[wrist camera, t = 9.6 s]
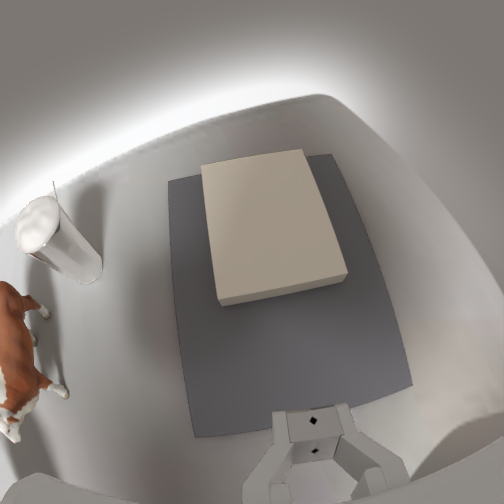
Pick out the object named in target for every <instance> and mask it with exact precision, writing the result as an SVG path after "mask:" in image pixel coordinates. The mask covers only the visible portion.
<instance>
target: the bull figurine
mask: <svg viewBox="0 0 504 504" xmlns="http://www.w3.org/2000/svg"><path fill="white" fill-rule="evenodd" d="M31 309H34V310H37V311H38V312H39V313H40V314H41V315H42V316H43V317H44V319H48V318H49V317H50V312H49V310H48V309H46V308H44V305H43V304H39V303H38V302H36V301H35V300H34V299H33V298H32V297H31V296H30V295H26V296H21V295H20V294H19V292H18V291H17V290H16V289H15V288H14V287H13V286H12V285H10V284H9V283H7V282H4V281H0V431H1V432H2V433H3V434H4V435H6V436H7V437H8V438H9V439H10V440H11V441H12V442H13V443H16V442H20V441H21V435H20V433H19V428H20V426H21V425H22V423H23V421H24V417H25V414H27V413H29V412H30V411H32V410H33V409H34V407H35V405H36V403H37V401H38V400H39V388H42V389H43V390H49V391H51V390H53V391H55V392H56V393H58V394H59V395H60V396H61V397H62V398H64V399H68V398H69V391H68V390H67V389H65V388H64V386H63V385H56V384H54V383H53V382H52V381H51V380H49V379H48V378H46V377H45V376H43V375H42V374H41V373H40V372H39V371H38V370H37V369H36V368H35V366H34V350H33V347H34V346H35V345H36V343H37V340H36V338H35V337H34V336H33V335H32V331H31V330H29V329H28V328H27V327H26V325H25V323H24V319H25V312H26V311H28V310H31Z"/></svg>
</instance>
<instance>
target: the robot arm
mask: <svg viewBox="0 0 504 504" xmlns="http://www.w3.org/2000/svg"><path fill="white" fill-rule="evenodd" d="M272 433H273V445H271V446H270V448H269V449H268V450H267V452H266V453H265V455H264V456H263V458H262V459H261V460H260V462H259V463H258V465H257V466H256V467H255V469H254V470H253V471H252V473H251V474H250V475H249V477H248V478H247V479H246V481H245V482H244V483H243V485H242V504H291V497H290V489H289V485H287V484H285V483H283V484H282V482H283V481H284V479H285V477H286V476H287V474H288V472H289V470H290V468H291V467H292V464H299V463H306V462H312V461H320V460H327V459H333V460H334V461H335V462H336V463H338V464H339V465H340V466H341V467H342V468H343V469H344V470H345V471H346V472H347V473H348V474H350V475H351V476H352V477H353V478H354V479H355V480H356V481H357V482H358V484H357V486H356V487H355V489H354V491H353V492H352V494H351V499H352V500H350V501H346V502H341V503H336V504H504V436H502V437H501V438H499V439H497V440H496V441H494V442H493V443H491V444H489V445H488V446H486V447H484V448H483V449H481V450H479V451H477V452H476V453H474V454H472V455H470V456H468V457H466V458H464V459H463V460H461V461H459V462H457V463H455V464H453V465H450V466H449V467H446V468H444V469H442V470H440V471H438V472H436V473H433V474H431V475H429V476H426V477H424V478H421V479H418V480H416V481H413V482H411V480H410V478H409V475H408V473H407V470H406V468H405V465H404V463H403V460H402V458H400V457H399V456H397V455H395V454H394V453H392V452H391V451H389V450H388V449H386V448H385V447H383V446H381V445H380V444H378V443H377V442H375V441H374V440H372V439H371V438H370V437H368V436H367V435H365V434H364V433H362V432H357V429H356V426H355V424H354V421H353V418H352V415H351V412H350V410H349V407H348V404H347V403H342V404H336V405H328V406H322V407H316V408H310V409H302V410H290V411H277V412H272ZM1 504H140V503H135V502H130V501H126V500H122V499H118V498H114V497H110V496H106V495H103V494H99V493H96V492H93V491H90V490H86V489H83V488H80V487H78V486H75V485H72V484H69V483H66V482H64V481H61V480H59V479H56V478H54V477H52V476H49V475H47V474H44V473H41V472H37V473H34V474H32V475H30V476H27V477H25V478H23V479H21V480H19V481H17V482H15V483H14V484H13V485H12V486H11V487H10V488H9V489H8V491H7V492H6V494H5V496H4V498H3V500H2V502H1Z"/></svg>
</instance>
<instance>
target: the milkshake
mask: <svg viewBox="0 0 504 504" xmlns="http://www.w3.org/2000/svg"><path fill="white" fill-rule="evenodd" d="M53 185H54V181H53ZM54 190H55V186H54ZM55 195H56V191H55ZM56 199H57V195H56ZM56 199H55V198H53V197H51V196H43V197H39V198H37V199H35V200H33V201H31V202H30V203H29V204H28V205H27V206H26V207H25V208H24V209H23V210H22V211H21V213H20V214H19V216H18V218H17V220H16V223H15V241H16V245H17V247H18V248H19V249H20V250H21V251H22V252H23V253H25V254H27V255H29V256H31V257H32V258H34V259H36V260H38V261H40V262H42V263H44V264H45V265H47V266H49V267H51V268H52V269H54V270H56V271H58V272H59V273H61V274H63V275H65V276H67V277H69V278H70V279H72V280H74V281H76V282H78V283H80V284H91V283H92V282H93V281H95V280H96V279H98V277H99V275H100V273H101V271H102V269H103V268H102V258H101V257H100V256H99V254H98V253H97V252H96V251H95V250H94V249H93V248H92V246H91V245H90V244H89V243H88V242H87V241H86V239H85V238H84V237H83V236H82V235H81V233H80V232H79V231H78V230H77V228H76V227H75V225H74V224H73V222H72V221H71V220H70V218H69V217H68V215H67V214H66V213H65V211H64V210H63V208H62V207H61V206H60V204H59V203H58V200H56Z"/></svg>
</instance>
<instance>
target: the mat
mask: <svg viewBox="0 0 504 504" xmlns="http://www.w3.org/2000/svg"><path fill="white" fill-rule="evenodd" d="M305 158H306V160H307V162H308V165H309V167H310V170H311V172H312V174H313V177H314V179H315V182H316V184H317V187H318V190H319V192H320V195H321V197H322V200H323V202H324V205H325V208H326V210H327V213H328V216H329V219H330V221H331V224H332V227H333V230H334V232H335V235H336V238H337V241H338V244H339V247H340V250H341V253H342V256H343V259H344V262H345V265H346V268H347V271H348V274H347V276H346V277H345V279H344V280H343V282H340V283H336V284H331V285H327V286H322V287H318V288H313V289H309V290H304V291H299V292H295V293H290V294H285V295H280V296H275V297H270V298H265V299H260V300H255V301H250V302H244V303H239V304H233V305H228V306H221V304H220V302H219V301H218V298H217V291H216V284H215V277H214V270H213V263H212V256H211V248H210V241H209V233H208V225H207V217H206V209H205V200H204V191H203V182H202V174H200V175H195V176H191V177H186V178H182V179H177V180H173V181H168V195H169V226H170V246H171V262H172V276H173V288H174V299H175V309H176V318H177V327H178V336H179V344H180V351H181V359H182V366H183V372H184V379H185V385H186V391H187V397H188V403H189V409H190V414H191V420H192V425H193V430H194V435H195V438H200V437H212V436H222V435H230V434H238V433H245V432H251V431H258V430H264V429H269V428H272V412H277V411H290V410H302V409H310V408H316V407H322V406H328V405H336V404H342V403H347V404H348V407H349V409H350V408H353V407H356V406H359V405H362V404H365V403H368V402H371V401H374V400H377V399H380V398H382V397H385V396H388V395H390V394H393V393H395V392H398V391H400V390H403V389H405V388H408V387H410V386H412V385H413V384H412V379H411V375H410V370H409V366H408V362H407V357H406V353H405V350H404V346H403V342H402V338H401V334H400V331H399V327H398V324H397V320H396V317H395V313H394V310H393V307H392V304H391V300H390V297H389V294H388V291H387V288H386V285H385V282H384V279H383V276H382V273H381V270H380V267H379V265H378V262H377V259H376V256H375V254H374V251H373V248H372V246H371V243H370V240H369V238H368V235H367V233H366V230H365V228H364V225H363V223H362V220H361V218H360V215H359V213H358V211H357V208H356V206H355V204H354V201H353V199H352V197H351V194H350V192H349V190H348V188H347V186H346V183H345V181H344V179H343V177H342V175H341V173H340V170H339V168H338V166H337V164H336V162H335V160H334V158H333V156H332V154H327V155H318V156H309V157H305Z"/></svg>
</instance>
